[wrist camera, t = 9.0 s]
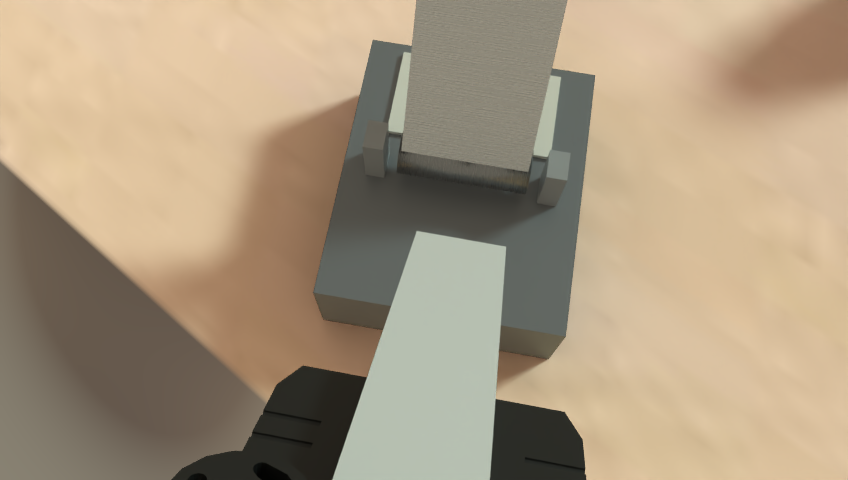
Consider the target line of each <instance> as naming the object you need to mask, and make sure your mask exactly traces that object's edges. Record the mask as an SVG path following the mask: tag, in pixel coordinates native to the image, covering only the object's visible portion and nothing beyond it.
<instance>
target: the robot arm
mask: <svg viewBox="0 0 848 480" xmlns="http://www.w3.org/2000/svg"><path fill="white" fill-rule="evenodd" d="M505 257H506V247H505V246H499V245H494V244H488V243H482V242H477V241H471V240H465V239H460V238H454V237H448V236H443V235H437V234H431V233H426V232H420V231H417V232H416V235H415V238H414V241H413V244H412V247H411V250H410V252H409V255H408V258H407V261H406V264H405V267H404V270H403V273H402V276H401V279H400V282H399V285H398V288H397V291H396V294H395V297H394V300H393V303H392V305H391V308H390V311H389V314H388V317H387V320H386V323H385V326H384V329H383V332H382V335H381V338H380V341H379V344H378V347H377V350H376V353H375V356H374V358H373V361H372V364H371V367H370V370H369V373H368V376H367V378H366V377H361V376H356V375H350V374H345V373H340V372H334V371H329V370H324V369H318V368H313V367H308V366H302V367H301V368H299V369H298V370H296V371H295V372H294V373H292V374H291V375H289V376H288V377H287V378H285V379H284V380H282V381H281V382H280V383H278V384H277V385H276V387H275V389H274V391H273V393H272V395H271V397H270V399H269V401H268V403H267V404H266V406H265V408H264V411H263V415H261V416H260V418H259V420H258V422H257V424H256V426H255V428H254V429H253V432H252V436H251V437H249V439H248V441H247V443H246V445H245V447H244V449H243V451H231V452H225V453H220V454H215V455H211V456H206V457H204V458H202V459H200V460H198V461H196V462H194V463H192V464H190V465H188V466H186V467H184V468H182V469H181V470H180V471H179V472H178V473H177V474H176V476H175V477H174V478H173V479H172V480H586V474H585V461H584V450H583V440H582V438H581V437H580V435H579V434H578V432H577V430H576V429H575V427H574V426H573V424H572V423H571V421H570V420H569V418H568V417H567V415H566V414H565V412H562V411H556V410H551V409H546V408H540V407H535V406H530V405H524V404H519V403H514V402H508V401H503V400H498V399H496V385H497V371H498V357H499V342H500V328H501V314H502V300H503V285H504V271H505Z"/></svg>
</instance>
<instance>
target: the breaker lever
mask: <svg viewBox="0 0 848 480" xmlns="http://www.w3.org/2000/svg"><path fill="white" fill-rule="evenodd" d="M566 4H567V0H416V10H415V20H414V30H413V40H412V50H411V60H410V70H409V80H408V90H407V100H406V110H405V120H404V130H403V133H402V137H401V141H400V147H399V153H398V160H397V173H400V174H406V175H412V176H418V177H424V178H430V179H436V180H442V181H448V182H454V183H460V184H466V185H472V186H478V187H484V188H490V189H496V190H502V191H508V192H514V193H520V194H526V192H527V189H528V185H529V180H530V175H531V169H532V163H533V154H534V150H533V149H534V145H535V141H536V136H537V132H538V127H539V123H540V119H541V114H542V110H543V105H544V101H545V97H546V92H547V88H548V83H549V79H550V75H551V70H552V66H553V61H554V57H555V53H556V48H557V44H558V39H559V35H560V31H561V26H562V22H563V17H564V13H565V8H566Z"/></svg>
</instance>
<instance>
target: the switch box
mask: <svg viewBox="0 0 848 480" xmlns="http://www.w3.org/2000/svg"><path fill="white" fill-rule="evenodd" d="M411 50H412V46H408V45H402V44H396V43H389V42H383V41H377V40H373V41H372V46H371V50H370V54H369V58H368V63H367V67H366V71H365V75H364V80H363V84H362V88H361V92H360V97H359V101H358V105H357V109H356V114H355V118H354V122H353V126H352V131H351V135H350V139H349V143H348V148H347V152H346V156H345V160H344V165H343V169H342V173H341V177H340V182H339V186H338V190H337V194H336V199H335V203H334V207H333V211H332V216H331V220H330V224H329V228H328V232H327V237H326V241H325V245H324V249H323V254H322V258H321V262H320V266H319V271H318V275H317V279H316V283H315V288H314V292H313V293H314V296H315V298H316V301H317V304H318V306H319V309H320V312H321V314H322V317H323V320H329V321H335V322H340V323H346V324H352V325H357V326H363V327H369V328H374V329H380V330H383V329H384V326H385V323H386V320H387V317H388V314H389V311H390V308H391V305H392V303H393V300H394V297H395V294H396V291H397V288H398V285H399V282H400V279H401V276H402V273H403V270H404V267H405V264H406V261H407V258H408V255H409V252H410V250H411V247H412V244H413V241H414V238H415V235H416V232H417V231H420V232H426V233H431V234H437V235H443V236H448V237H454V238H460V239H465V240H471V241H477V242H482V243H488V244H494V245H499V246H505V247H506V257H505V271H504V285H503V300H502V314H501V328H500V342H499V350H500V351H505V352H511V353H517V354H522V355H528V356H534V357H539V358H545V359H549V358H550V357H551V355H552V354H553V353H554V351H555V350H556V349H557V347H558V346H559V345H560V343H561V342H562V341H563V340H564V338H565V337H566V330H567V321H568V312H569V303H570V294H571V285H572V277H573V268H574V259H575V250H576V241H577V232H578V223H579V214H580V206H581V197H582V188H583V179H584V170H585V161H586V152H587V143H588V134H589V126H590V117H591V108H592V99H593V90H594V81H595V75H590V74H584V73H577V72H571V71H565V70H558V69H552V70H551V75H550V79H549V83H548V88H547V92H546V97H545V101H544V105H543V110H542V114H541V119H540V123H539V127H538V132H537V136H536V141H535V145H534V149H533V150H534V154H533V163H532V169H531V175H530V180H529V185H528V189H527V192H526V194H520V193H514V192H508V191H502V190H496V189H490V188H484V187H478V186H472V185H466V184H460V183H454V182H448V181H442V180H436V179H430V178H424V177H418V176H412V175H406V174H400V173H397V160H398V153H399V147H400V141H401V137H402V133H403V130H404V120H405V110H406V100H407V90H408V80H409V70H410V60H411Z"/></svg>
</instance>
